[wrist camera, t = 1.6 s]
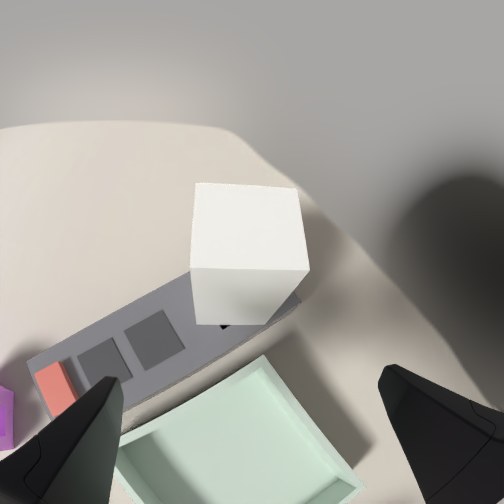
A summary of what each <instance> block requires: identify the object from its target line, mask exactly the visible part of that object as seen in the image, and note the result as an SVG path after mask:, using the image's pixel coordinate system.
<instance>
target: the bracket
mask: <svg viewBox="0 0 504 504" xmlns="http://www.w3.org/2000/svg"><path fill="white" fill-rule="evenodd" d="M13 408H14V392H12V391H10V390H8V389H6V388H4V387H2V386H0V451H4V450H10V449H14V443H13Z"/></svg>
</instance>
